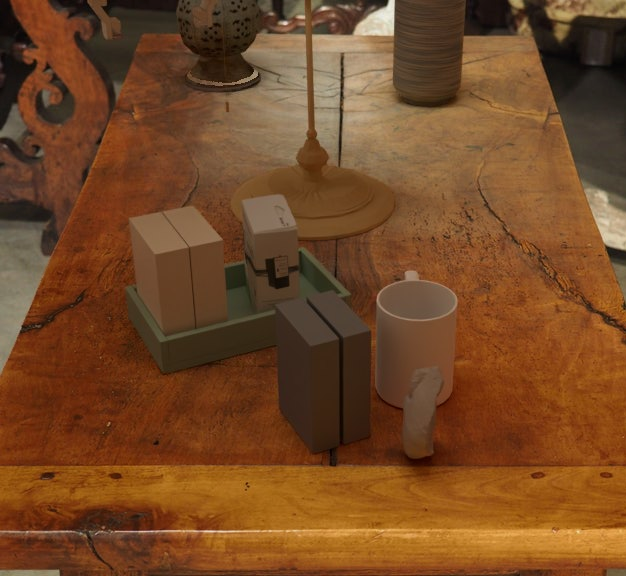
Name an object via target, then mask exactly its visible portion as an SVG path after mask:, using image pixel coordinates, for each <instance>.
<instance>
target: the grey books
mask: <svg viewBox="0 0 626 576" xmlns="http://www.w3.org/2000/svg"><path fill="white" fill-rule="evenodd" d="M306 301H307V302H306ZM306 301H305V300H304V299H303V298H299V299H295V300H291V301H286V302H282V303H278V304H275V318H276V343H277V345H276V365H277V366H276V367H277V393H278V410H279V411H280V412H281V413H282V415H283V417H285V419H286V420H287V422H288V423H289V424H290V426H291V427H292V428H293V430H294V431H295V432H296V434H297V435H298V437H299V438H300V440H302V442H303V443H304V445H305V446H306V448H307V449H308V450H309V451H310V453H311V454H312V455H316V454H319V453H322V452H325V451H329V450H332V449H335V448H338V447H340V446H341V443H342V444H343V446H344V445H348V444H351V443H354V442H358V441H361V440H364V439H368V438H371V399H372V397H371V394H372V393H371V389H372V328H370V327H369V326H368V325H367V324H366V323H365V322H364V321H363V320H362V318H361V317H359V315H358V314H357V313H356V312H355V311H354V310H353V309H352V307H351V308H350V307H349V306H348V305H347V304H346V303H345V302H344V301H343V300H342V299H341V298H340V297H339V296H338V295H337V294H336V293H335V292H334V291H333V290H331V291H327V292H323V293H319V294H315V295H311V296H307V297H306Z"/></svg>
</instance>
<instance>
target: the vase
mask: <svg viewBox="0 0 626 576" xmlns="http://www.w3.org/2000/svg"><path fill="white" fill-rule="evenodd" d="M466 2H467V0H394V8H393V9H394V11H393V13H394V14H393V47H392V49H393V52H392V54H393V56H392V57H393V59H392V85H393V87H394V89H395V91H396V92H397V93H398V94H399V96H400V98H401V100H402V101H403V102H405V103H407V104H410V105H414V106H419V107H436V106H437V107H438V106H442V105H445V104H447V103H449V102H450V101H451V100H452V98H453V97H454V96H455V95H457V93H458V92H459V91H460V89H461V86H462V76H463V75H462V74H463V55H464V38H465V37H464V36H465V24H466V23H465V22H466V4H467V3H466Z"/></svg>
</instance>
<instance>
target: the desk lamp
mask: <svg viewBox="0 0 626 576" xmlns="http://www.w3.org/2000/svg"><path fill="white" fill-rule="evenodd" d="M221 10H222V8H221ZM312 20H313V19H312V0H304V23H305V24H304V25H305V27H304V28H305V57H306V58H305V59H306V60H305V61H306V92H307V96H306V97H307V122H308V124H307V125H308V130H307V131H306V133H305V134H306V137H307V139H305V141H304V144H303V146H302V147H300V148H299V150H298V151H297V154H296V156H295V160H296V162H297V164H296V165H292V166H290V165H288V166H285V167H279V168H275V169H272V170H269V171H266V172H264V173H262V174H258V175H255V176H253V177H251V178H250V179H248V180H246V181H245V182H243V183H242V184H240V186H239V187H238V188H236V189H235V190H234V192H233V194H232V196H231V199H230V201H229V203H230V210H231V212H232V214H233V216H234V217H235V219H236V221H238V222H239V223H241V224H242V225H243V220H242V203H241V200H245V199H251V198H257V197H263V196H270V195H277V194H281V195H283V196H284V198H285V200H286V201H287V204H288V206H289V208H290V210H291V213H292V215H293V217H294V219H295V222H296V223H297V225H296V226H297V230H298V241H311V242H312V241H313V242H314V241H330V240H331V241H332V240H337V239H343V238H350V237H353V236H356V235H360V234H363V233H366V232H368V231H370V230H372V229H375V228H377V227H379V226H380V225H382V224H383V223H384V222H385V221H388V220H389V218H390V217H391V215H392V214H393V212H394V209H395V204H396V198H395V197H394V196H395V195H394V194H393V191H392V190H391V189H390V188H389V187H388V186H387V184H385V183H383V182H382V181H381V180H379V179H377V178H375V177H373V176H370V175H368V174H365V173H363V172H361V171H358V170H356V169H354V168H349V167H342V166H337V165H336V164H335V165H329V164H328V161H329V158H330V155H329V153H328V152H327V150H326V149H325V148H324V147H323V146H321V144H320V140H319V139H317V137H318V131H317V130H316V124H315V123H316V122H315V121H316V120H315V118H316V117H315V91H314V90H315V86H314V85H315V84H314V57H313V56H314V53H313V21H312ZM222 27H223V24H222ZM223 44H224V41H223ZM224 62H225V57H224ZM225 79H226V74H225ZM225 94H226V97H228V92H227V91H226V92H225ZM224 104H225V113H230V102H229V101H228V100H226V101H225V103H224Z"/></svg>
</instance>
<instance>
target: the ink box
mask: <svg viewBox="0 0 626 576" xmlns="http://www.w3.org/2000/svg"><path fill="white" fill-rule="evenodd" d="M241 203H242V220H243V224H242V235H243V236H242V237H243V239H242V240H243V260H245V276H246V291H247V294H248V297H249V300H250V302H251V305H252V308H253V311H254V314H260V313H264V312H268V311H272V310H275V304H278V303H282V302H286V301H291V300H295V299H299V298H300V285H299V259H298V248H299V240H298V230H297V226H296V225H297V223H296V222H295V219H294V217H293V215H292V213H291V210H290V208H289V206H288V204H287V201H286V200H285V198H284V196H283V195H281V194H277V195H270V196H263V197H257V198H251V199H245V200H241Z"/></svg>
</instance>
